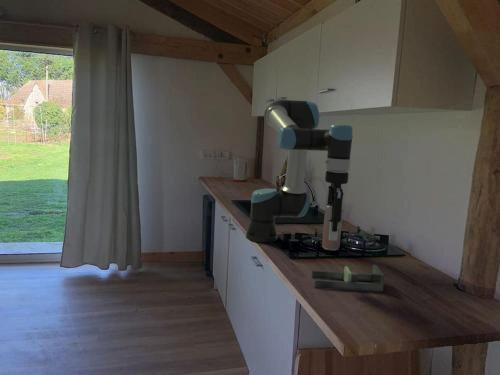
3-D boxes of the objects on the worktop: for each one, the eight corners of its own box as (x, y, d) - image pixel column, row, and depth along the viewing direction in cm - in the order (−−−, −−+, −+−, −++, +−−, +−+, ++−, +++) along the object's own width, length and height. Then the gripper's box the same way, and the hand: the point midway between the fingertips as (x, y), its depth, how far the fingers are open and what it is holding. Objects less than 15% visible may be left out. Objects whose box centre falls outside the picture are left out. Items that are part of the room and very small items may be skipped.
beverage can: (326, 244, 144) (330, 203, 141) (342, 248, 140) (346, 206, 138) (318, 247, 139) (322, 205, 137) (334, 252, 135) (338, 208, 133)
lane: (310, 276, 147) (312, 260, 146) (374, 280, 147) (376, 264, 145) (314, 287, 137) (316, 270, 136) (382, 291, 137) (384, 275, 136)
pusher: (343, 279, 145) (344, 266, 144) (352, 280, 145) (354, 266, 144) (347, 287, 138) (348, 273, 138) (357, 287, 138) (358, 274, 138)
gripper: (321, 167, 145) (316, 229, 148) (331, 174, 126) (324, 245, 130) (342, 168, 144) (336, 230, 148) (355, 175, 126) (348, 246, 130)
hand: (331, 237), depth 139 cm, fingers closed on beverage can, 6 cm apart
